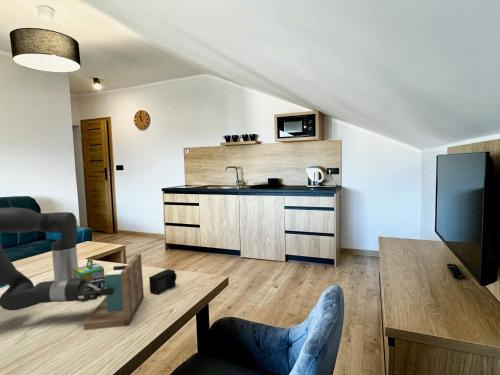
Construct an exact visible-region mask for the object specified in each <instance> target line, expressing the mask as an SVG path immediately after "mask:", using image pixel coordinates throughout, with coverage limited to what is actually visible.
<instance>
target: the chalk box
mask: <svg viewBox="0 0 500 375" xmlns="http://www.w3.org/2000/svg"><path fill="white" fill-rule="evenodd" d="M93 262H94V260H93V259H90V258H87V263H86V265H83V266H78V268H75V269H73V279H75V278H84V279H86V281H87V282H90V281H93V280H94V278H98V277H105V269H104V266H102V265H101V264H98V263H93ZM90 297H92V296H90ZM85 301H87V300H84V301H81V302H82V303H84V302H85Z"/></svg>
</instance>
